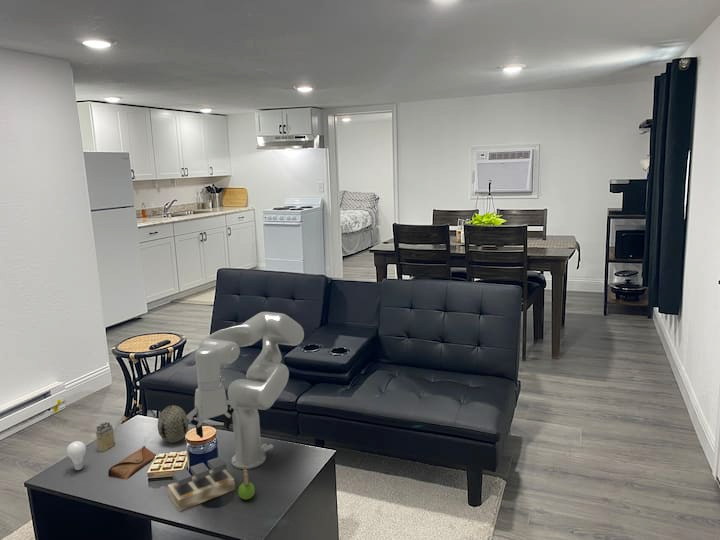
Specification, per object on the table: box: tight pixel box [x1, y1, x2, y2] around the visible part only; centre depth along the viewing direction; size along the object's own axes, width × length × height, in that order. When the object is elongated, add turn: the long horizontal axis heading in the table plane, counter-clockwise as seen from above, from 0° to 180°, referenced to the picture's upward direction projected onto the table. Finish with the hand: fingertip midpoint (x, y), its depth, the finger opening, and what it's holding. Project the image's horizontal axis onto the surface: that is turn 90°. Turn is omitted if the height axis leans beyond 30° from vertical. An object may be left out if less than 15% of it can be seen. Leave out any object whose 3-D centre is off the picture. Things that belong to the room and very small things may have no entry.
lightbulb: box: [66, 440, 87, 471], centre depth 204 cm, size 6×6×11 cm
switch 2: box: [206, 456, 228, 473], centre depth 191 cm, size 4×6×3 cm
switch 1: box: [172, 468, 193, 486], centre depth 184 cm, size 4×6×3 cm
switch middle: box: [190, 462, 211, 479], centre depth 187 cm, size 4×6×3 cm
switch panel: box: [167, 469, 236, 512], centre depth 188 cm, size 19×11×4 cm, turn 126°
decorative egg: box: [157, 404, 189, 443], centre depth 223 cm, size 12×12×15 cm
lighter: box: [95, 421, 116, 452], centre depth 220 cm, size 7×4×10 cm, turn 156°
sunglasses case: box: [107, 445, 157, 481], centre depth 207 cm, size 18×7×7 cm, turn 158°
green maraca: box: [237, 468, 256, 500], centre depth 183 cm, size 5×6×12 cm
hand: (213, 431), depth 188 cm, fingers open, 8 cm apart
